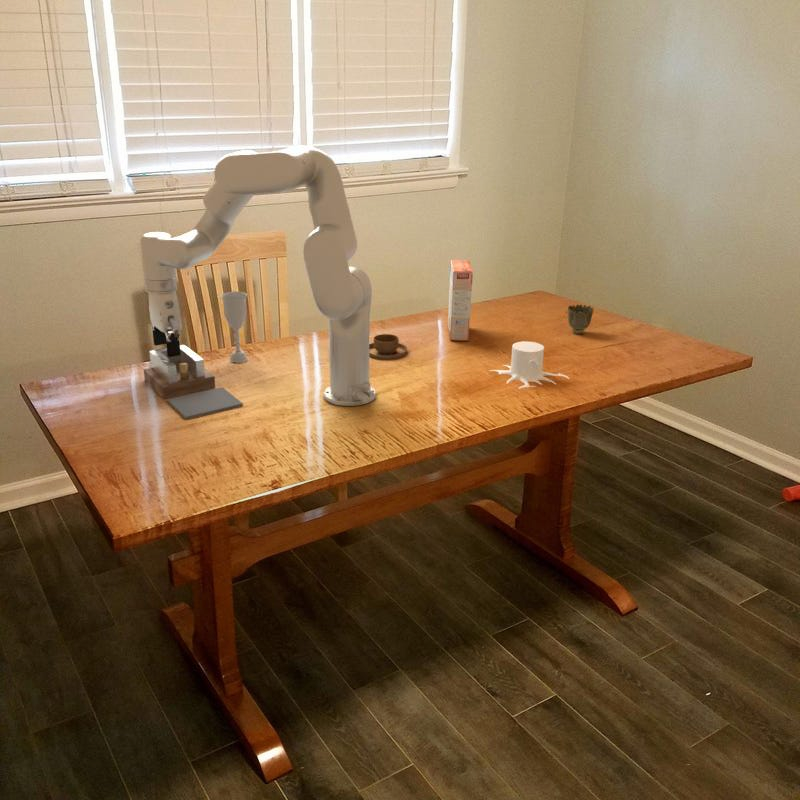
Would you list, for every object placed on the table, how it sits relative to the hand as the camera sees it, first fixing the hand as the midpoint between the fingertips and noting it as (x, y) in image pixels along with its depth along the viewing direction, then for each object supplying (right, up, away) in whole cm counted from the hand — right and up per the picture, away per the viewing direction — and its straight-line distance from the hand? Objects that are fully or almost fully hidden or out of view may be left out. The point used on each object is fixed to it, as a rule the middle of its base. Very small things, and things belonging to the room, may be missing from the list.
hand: (167, 350), depth 201 cm
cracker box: (+76, +7, +37) cm, 85 cm away
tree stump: (+92, -6, +8) cm, 93 cm away
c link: (+3, -5, -2) cm, 7 cm away
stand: (+4, -9, -2) cm, 9 cm away
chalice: (+15, -2, +15) cm, 21 cm away
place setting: (+51, +1, +23) cm, 56 cm away
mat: (+13, -13, -13) cm, 22 cm away
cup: (+113, +7, +39) cm, 119 cm away
